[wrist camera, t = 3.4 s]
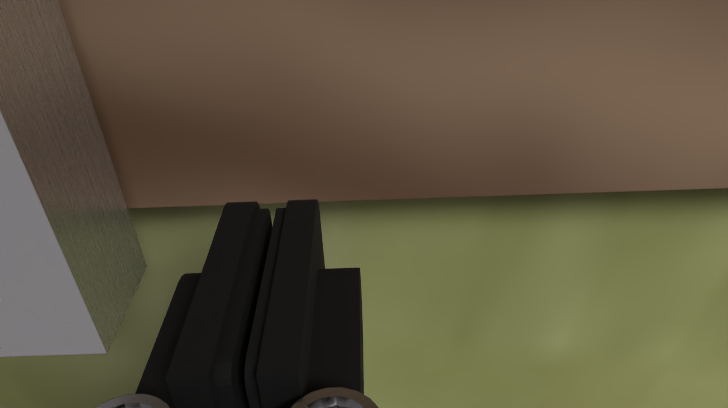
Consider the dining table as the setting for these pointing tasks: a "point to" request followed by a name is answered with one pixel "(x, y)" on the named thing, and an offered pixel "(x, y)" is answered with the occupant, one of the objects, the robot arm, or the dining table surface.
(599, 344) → the dining table surface
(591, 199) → the dining table surface
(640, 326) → the dining table surface
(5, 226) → the folding leg
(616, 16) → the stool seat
